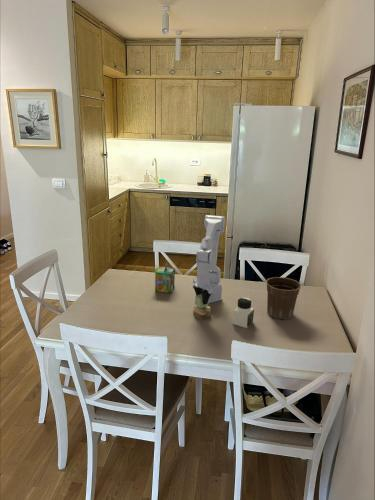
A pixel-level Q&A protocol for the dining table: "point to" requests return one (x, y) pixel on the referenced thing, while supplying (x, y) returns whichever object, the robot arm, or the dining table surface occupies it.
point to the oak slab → (202, 310)
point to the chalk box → (164, 279)
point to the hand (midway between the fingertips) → (202, 301)
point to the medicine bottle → (243, 313)
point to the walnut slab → (201, 315)
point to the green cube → (199, 301)
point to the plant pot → (281, 297)
